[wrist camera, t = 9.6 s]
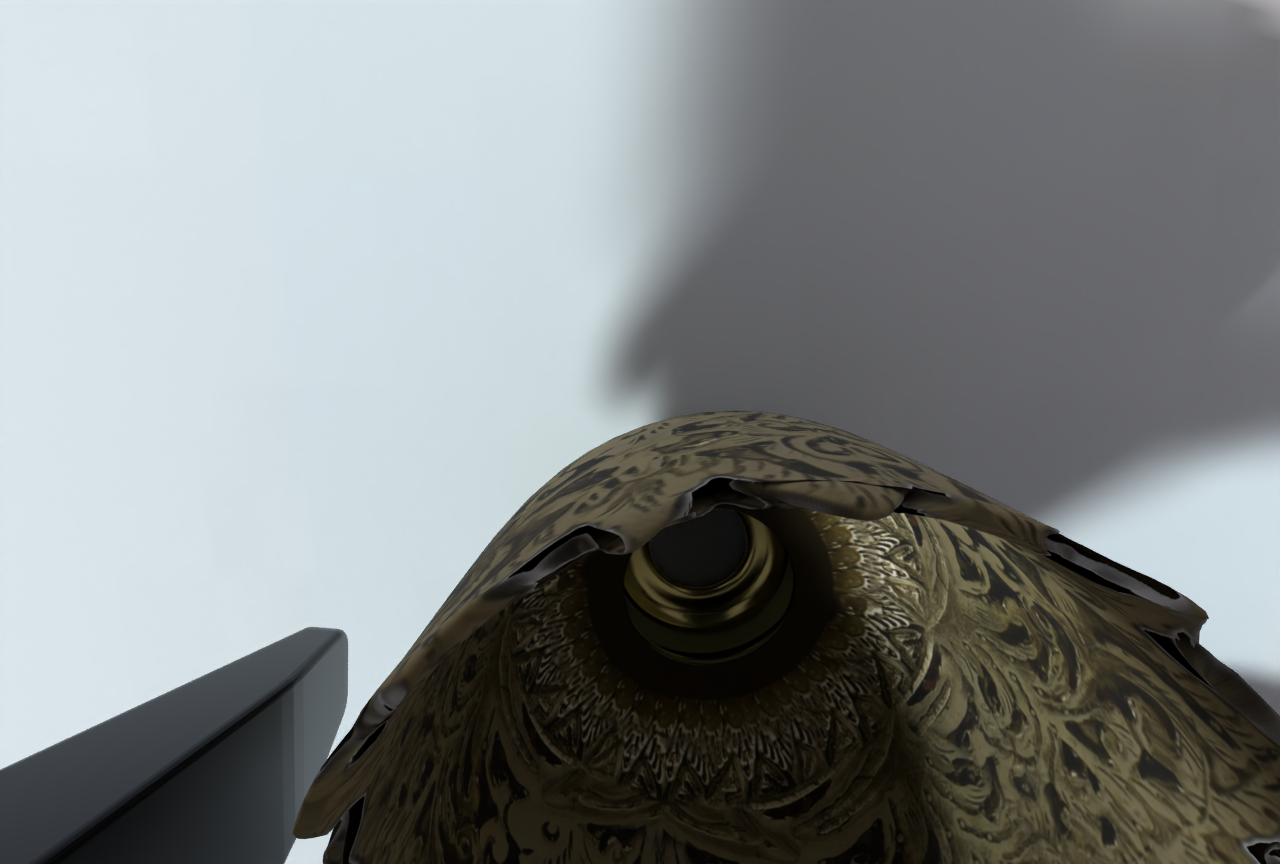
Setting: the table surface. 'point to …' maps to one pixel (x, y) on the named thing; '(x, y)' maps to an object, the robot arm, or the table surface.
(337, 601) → the table surface
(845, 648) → the cup
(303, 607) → the table surface
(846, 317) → the table surface
